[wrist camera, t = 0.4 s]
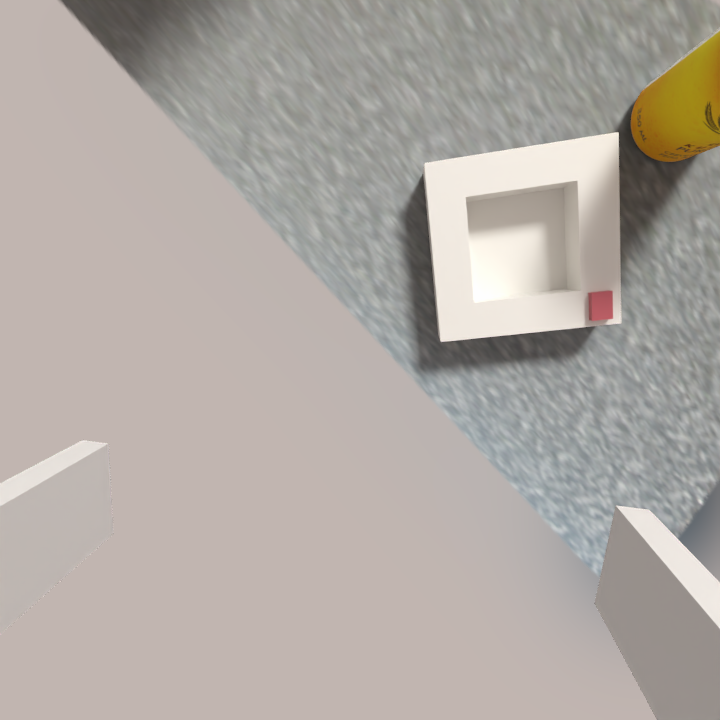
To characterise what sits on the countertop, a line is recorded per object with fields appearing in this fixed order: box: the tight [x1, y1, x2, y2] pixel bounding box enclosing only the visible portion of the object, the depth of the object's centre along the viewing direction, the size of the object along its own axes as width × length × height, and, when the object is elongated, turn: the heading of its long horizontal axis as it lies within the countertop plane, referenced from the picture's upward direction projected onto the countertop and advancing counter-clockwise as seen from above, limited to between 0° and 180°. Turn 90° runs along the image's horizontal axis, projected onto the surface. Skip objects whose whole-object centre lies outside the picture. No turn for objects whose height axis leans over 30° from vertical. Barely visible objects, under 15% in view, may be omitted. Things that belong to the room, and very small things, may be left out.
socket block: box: [423, 132, 621, 342], centre depth 33 cm, size 13×13×4 cm
